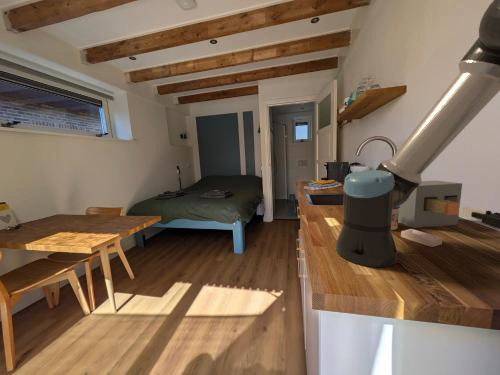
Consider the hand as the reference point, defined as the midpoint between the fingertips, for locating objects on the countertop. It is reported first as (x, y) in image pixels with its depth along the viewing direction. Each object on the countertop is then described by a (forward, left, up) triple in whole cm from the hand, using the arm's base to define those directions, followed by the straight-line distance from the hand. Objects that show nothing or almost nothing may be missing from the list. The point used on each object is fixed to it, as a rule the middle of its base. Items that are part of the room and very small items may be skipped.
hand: (464, 211), depth 64 cm
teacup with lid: (-15, +15, -9) cm, 23 cm away
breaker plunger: (-1, +8, -2) cm, 8 cm away
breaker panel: (+2, +16, -9) cm, 18 cm away
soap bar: (-14, +1, -10) cm, 17 cm away
